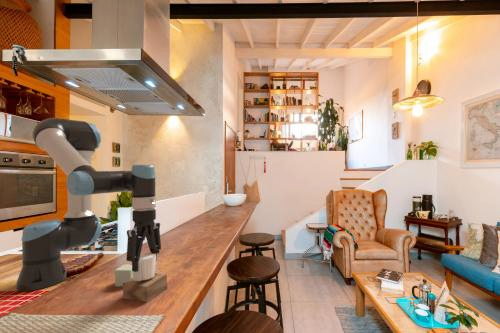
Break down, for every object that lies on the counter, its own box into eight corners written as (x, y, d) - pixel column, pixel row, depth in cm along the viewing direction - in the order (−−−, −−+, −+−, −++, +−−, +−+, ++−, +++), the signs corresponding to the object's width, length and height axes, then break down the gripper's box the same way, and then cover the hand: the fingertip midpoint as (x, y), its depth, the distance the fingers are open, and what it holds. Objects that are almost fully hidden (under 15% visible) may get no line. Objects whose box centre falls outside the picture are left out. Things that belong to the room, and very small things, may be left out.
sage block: (115, 286, 97) (114, 270, 97) (124, 279, 103) (124, 264, 103) (130, 286, 96) (130, 270, 96) (138, 280, 102) (138, 264, 102)
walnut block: (123, 298, 87) (122, 282, 87) (144, 285, 97) (144, 271, 97) (147, 302, 84) (147, 286, 84) (167, 288, 93) (166, 274, 93)
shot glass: (133, 282, 86) (132, 260, 86) (136, 274, 93) (135, 254, 93) (155, 279, 88) (154, 258, 88) (156, 271, 95) (156, 252, 95)
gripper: (131, 214, 80) (132, 289, 80) (170, 205, 99) (172, 266, 98) (112, 213, 83) (113, 286, 82) (154, 205, 101) (155, 265, 101)
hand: (145, 275), depth 90 cm, fingers closed on shot glass, 7 cm apart
